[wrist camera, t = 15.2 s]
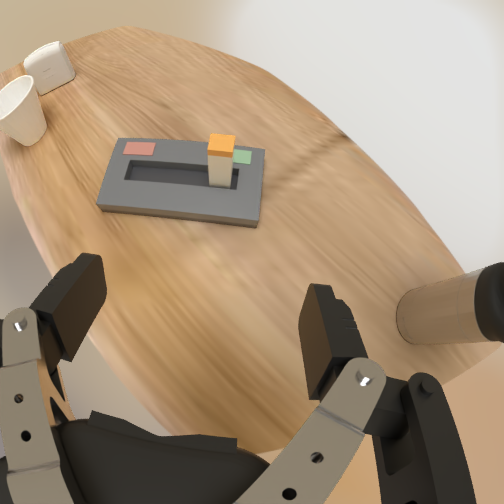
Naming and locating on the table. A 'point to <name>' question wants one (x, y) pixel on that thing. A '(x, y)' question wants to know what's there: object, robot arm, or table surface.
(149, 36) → the table surface
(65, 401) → the robot arm
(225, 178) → the handle
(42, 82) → the photo printer
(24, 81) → the cup
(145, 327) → the table surface
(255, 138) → the table surface
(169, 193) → the slotted lever switch base
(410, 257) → the table surface
